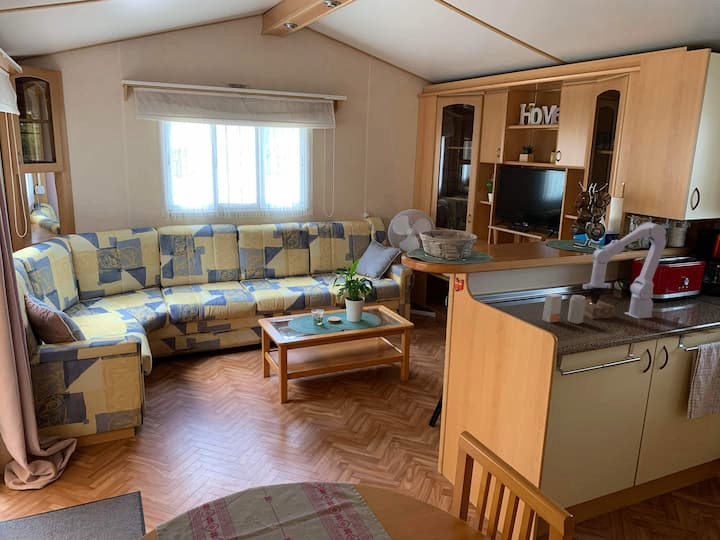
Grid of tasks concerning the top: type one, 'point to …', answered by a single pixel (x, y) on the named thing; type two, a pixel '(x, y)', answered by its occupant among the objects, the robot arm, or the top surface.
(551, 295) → the skincare box
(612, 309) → the band block
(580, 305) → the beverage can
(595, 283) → the robot arm
